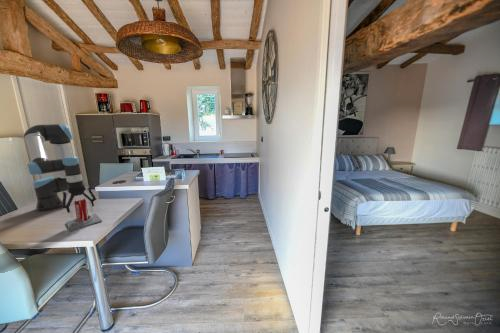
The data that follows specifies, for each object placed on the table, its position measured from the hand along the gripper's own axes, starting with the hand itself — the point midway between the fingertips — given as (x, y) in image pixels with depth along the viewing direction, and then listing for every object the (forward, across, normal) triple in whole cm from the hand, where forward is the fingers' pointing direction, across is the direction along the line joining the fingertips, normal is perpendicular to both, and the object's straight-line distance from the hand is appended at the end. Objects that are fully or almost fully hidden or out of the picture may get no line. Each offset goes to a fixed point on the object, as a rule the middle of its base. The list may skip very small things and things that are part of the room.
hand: (82, 213), depth 132 cm
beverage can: (+5, 0, 0) cm, 5 cm away
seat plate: (+6, 0, 0) cm, 6 cm away
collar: (+6, 0, 0) cm, 6 cm away
